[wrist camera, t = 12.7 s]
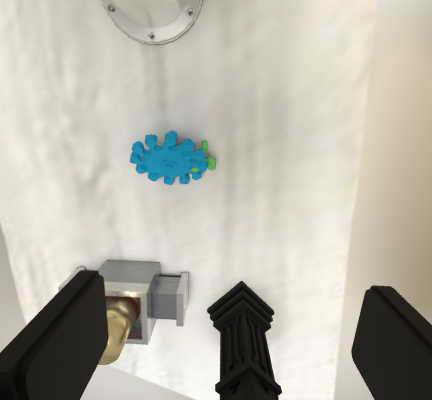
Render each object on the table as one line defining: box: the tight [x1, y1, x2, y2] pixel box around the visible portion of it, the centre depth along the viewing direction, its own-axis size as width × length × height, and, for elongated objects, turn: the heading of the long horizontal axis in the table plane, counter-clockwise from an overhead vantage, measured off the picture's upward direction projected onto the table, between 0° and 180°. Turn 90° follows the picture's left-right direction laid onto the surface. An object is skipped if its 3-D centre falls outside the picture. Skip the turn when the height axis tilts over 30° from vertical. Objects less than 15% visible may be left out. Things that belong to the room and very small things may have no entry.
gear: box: [130, 131, 216, 185], centre depth 36 cm, size 11×6×10 cm
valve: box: [58, 260, 188, 345], centre depth 40 cm, size 9×18×8 cm, turn 87°
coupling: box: [98, 296, 138, 365], centre depth 35 cm, size 5×5×7 cm
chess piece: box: [207, 281, 282, 400], centre depth 36 cm, size 8×8×20 cm
